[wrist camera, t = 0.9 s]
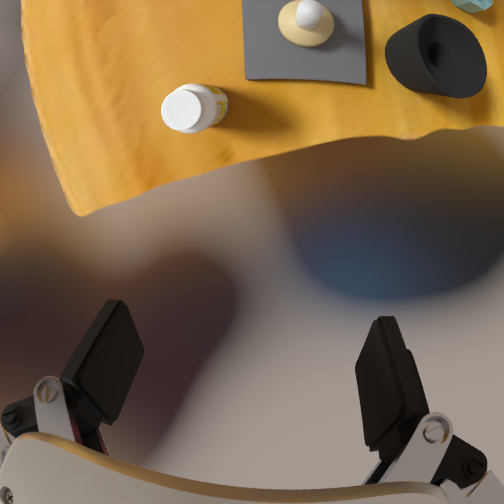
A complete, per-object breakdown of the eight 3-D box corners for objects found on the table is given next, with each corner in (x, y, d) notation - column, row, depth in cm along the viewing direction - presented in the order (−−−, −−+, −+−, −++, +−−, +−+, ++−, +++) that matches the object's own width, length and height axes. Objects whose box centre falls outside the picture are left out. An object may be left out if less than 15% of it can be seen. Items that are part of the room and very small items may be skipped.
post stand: (242, -16, 21) (232, -42, 15) (356, -11, 20) (374, -33, 13) (246, 80, 29) (236, 74, 22) (362, 84, 27) (385, 82, 20)
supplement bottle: (181, 94, 30) (146, 95, 22) (221, 79, 29) (198, 72, 20) (194, 132, 33) (165, 145, 24) (234, 118, 31) (217, 125, 23)
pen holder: (425, 108, 27) (467, 117, 19) (368, 64, 26) (400, 54, 17) (451, 60, 22) (495, 58, 14) (397, 15, 21) (433, -4, 12)
